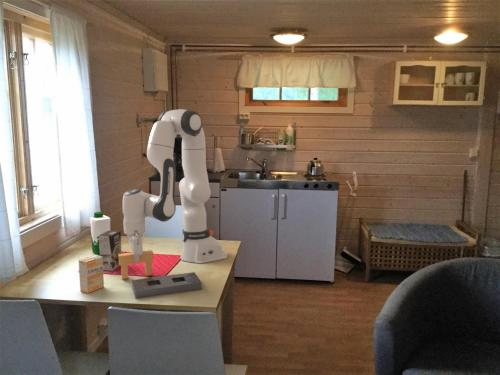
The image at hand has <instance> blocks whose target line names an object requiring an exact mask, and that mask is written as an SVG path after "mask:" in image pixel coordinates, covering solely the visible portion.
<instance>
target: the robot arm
mask: <svg viewBox="0 0 500 375" xmlns="http://www.w3.org/2000/svg"><path fill="white" fill-rule="evenodd" d="M202 125H203V121H202V117H201V115H200V113H199V112H197V111H196V110H192V109H182V108H178V109H167V110H164V111H163V112H161V113H160V115H159V116H158V118H157V121H155V122H154V124H153V125H152V128H151V131H150V135H149V138H148V142H147V147H146V148H147V149H146V158H147V160H148V162H149V164H151V165H152V166H153V167H154V168H156V169H157V171H158V173H159V175H160V190H159V195H156V194H151V193H147V192H145V191H143V190H142V189H140V188H133V189H128V190H127V191H125V192H124V193H123V195H122V207H121V208H122V214H123V221H122V223H123V224H122V225H123V234H125V235H126V237H127V241H128V243H129V246H130V249H131V253H132V252H133V254H134V260H135V262H139V256H141V255H143V251H144V249H143V239H142V237H143V235H144V233H145V232H146V218H147V217H149V218H151V219H155V220H157V221H159V222H162V223H163V222H164V223H165V222H168V221H170V220H171V219H172V218H173V217H174V215H175V214H176V210H177V208H176V206H177V205H176V198H175V197H176V196H175V189H176V171H177V170H176V163H175V160H174V148H175V139H176V138H177V135H180V137H181V138H182V139H181V167H182V171H183V176H184V177H183V178H182V179H181V180H180V181H179V184H178V190H179V195H180V204H181V209H182V221H183V222H182V223H183V224H182V227H183V229H182V236H181V237H182V238H181V239H182V250H181V254H180V260H182V261H185V262H188V263H189V262H190V263H195V264H204V263H211V262H215V261H221V260H225V259H227V258H228V253H227V252H226V251H225V250H223V244H222V243H221V242H220V241H219V240H218V239H216V238H214V237H213V235H214V231H213V230H211V229H210V228H208V227H207V211H206V207H205V203H206V202H208V201H209V200H210V198H211V194H212V191H211V188H210V183H209V175H208V171H207V157H206V156H207V152H206V150H207V148H206V136H205V131H204V128H203V127H202Z"/></svg>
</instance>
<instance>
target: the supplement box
mask: <svg viewBox="0 0 500 375" xmlns="http://www.w3.org/2000/svg"><path fill="white" fill-rule="evenodd" d="M78 272H79V290H80V292H81V293H85V294H88V295H89V294H90V293H92V292H95V291H97V290H100V289H103V288H105V281H104V270H103V257H102V256H100V255H99V256H98V255H96V254H93V255H91V256H87V257H84V258H81V259H78Z"/></svg>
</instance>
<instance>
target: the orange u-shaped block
mask: <svg viewBox="0 0 500 375" xmlns="http://www.w3.org/2000/svg"><path fill="white" fill-rule="evenodd" d="M118 255H119V265H120V271H121V272H120V273H121V279H129V265H133V264H141V263H144V273H145V276H152V275H153V264H152V263H153V262H154V252H153V250H152V249H151V250H143V255H141V256H139V262H135V260H134V254H133V252H132V251H131V252H125V253H124V252H123V253H122V254H118Z"/></svg>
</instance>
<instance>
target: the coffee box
mask: <svg viewBox="0 0 500 375" xmlns="http://www.w3.org/2000/svg"><path fill="white" fill-rule="evenodd" d="M99 250H100V255H99V256H102V257H103V271H112V272H113V271H115V270H116V269H118V268H119V267H121V265H119V255H118V254H123V253H122V252H123V251H122V232H121V230H110V231H109V230H108V231H107V232H105V233H103V234H101V235H99Z"/></svg>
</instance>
